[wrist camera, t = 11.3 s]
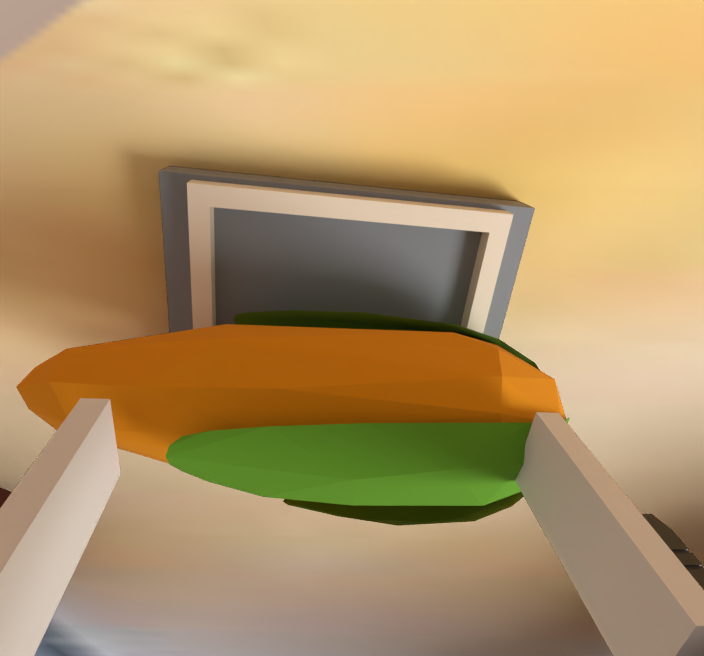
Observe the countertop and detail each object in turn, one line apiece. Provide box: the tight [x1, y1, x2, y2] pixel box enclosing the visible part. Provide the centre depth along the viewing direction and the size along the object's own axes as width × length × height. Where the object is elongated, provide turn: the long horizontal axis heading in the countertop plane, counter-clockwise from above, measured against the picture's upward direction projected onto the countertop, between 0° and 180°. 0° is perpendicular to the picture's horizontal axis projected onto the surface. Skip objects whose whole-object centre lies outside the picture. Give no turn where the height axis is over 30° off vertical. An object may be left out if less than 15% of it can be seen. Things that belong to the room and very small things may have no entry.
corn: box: [17, 310, 569, 525], centre depth 17 cm, size 7×8×20 cm
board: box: [159, 166, 535, 339], centre depth 21 cm, size 13×15×2 cm
